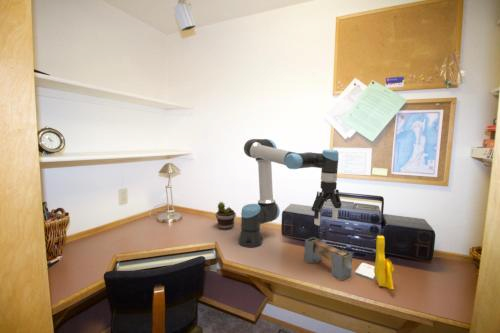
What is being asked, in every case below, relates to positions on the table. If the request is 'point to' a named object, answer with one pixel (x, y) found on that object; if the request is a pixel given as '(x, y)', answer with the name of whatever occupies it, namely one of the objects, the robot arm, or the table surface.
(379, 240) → the figure statuette
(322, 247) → the rail
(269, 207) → the robot arm
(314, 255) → the bracket left
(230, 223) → the flowerpot
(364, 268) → the external hard drive
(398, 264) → the table surface
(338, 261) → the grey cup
